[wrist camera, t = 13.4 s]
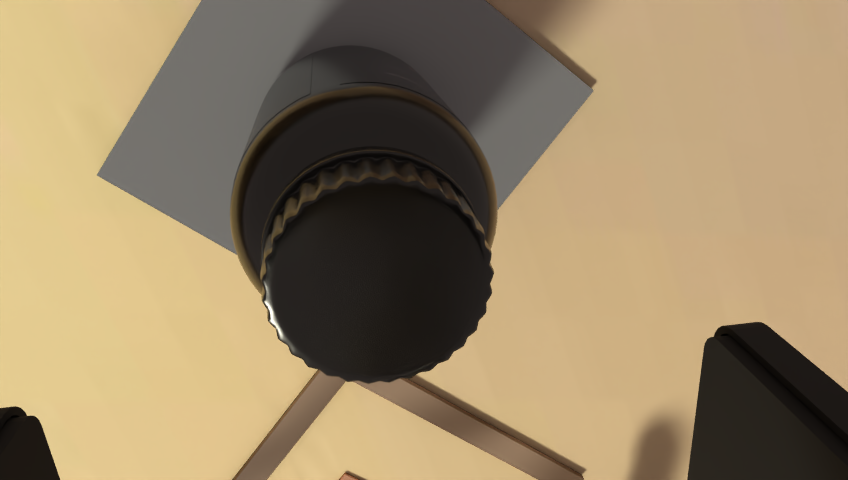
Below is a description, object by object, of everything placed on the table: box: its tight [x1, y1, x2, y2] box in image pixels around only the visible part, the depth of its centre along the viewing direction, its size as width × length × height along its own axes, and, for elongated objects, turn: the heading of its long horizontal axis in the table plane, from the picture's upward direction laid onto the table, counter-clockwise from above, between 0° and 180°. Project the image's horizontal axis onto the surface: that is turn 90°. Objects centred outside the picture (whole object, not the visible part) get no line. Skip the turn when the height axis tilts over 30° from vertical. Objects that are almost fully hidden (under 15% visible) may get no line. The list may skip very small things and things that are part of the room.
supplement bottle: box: [230, 45, 498, 384], centre depth 19 cm, size 7×7×12 cm
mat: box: [97, 0, 594, 254], centre depth 24 cm, size 13×13×1 cm
